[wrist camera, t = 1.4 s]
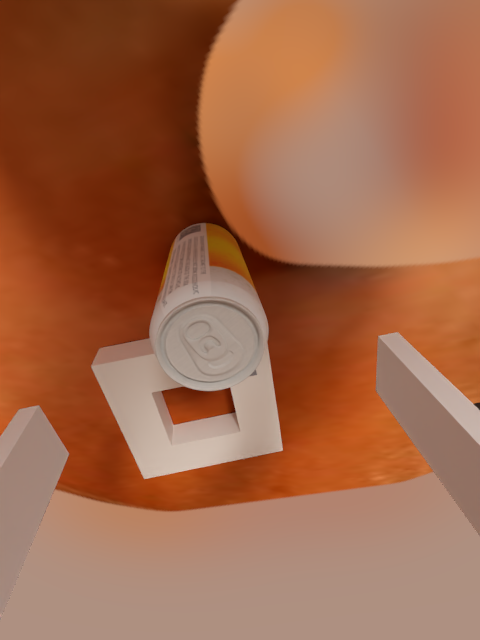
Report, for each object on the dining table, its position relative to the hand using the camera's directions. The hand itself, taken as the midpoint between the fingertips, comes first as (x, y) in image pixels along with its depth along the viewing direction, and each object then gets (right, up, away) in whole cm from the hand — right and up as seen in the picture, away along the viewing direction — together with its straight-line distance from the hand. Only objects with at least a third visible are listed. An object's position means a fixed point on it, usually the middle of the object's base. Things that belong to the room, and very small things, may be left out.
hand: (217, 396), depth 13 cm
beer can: (-2, +9, +16) cm, 19 cm away
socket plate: (-4, -5, +23) cm, 24 cm away
